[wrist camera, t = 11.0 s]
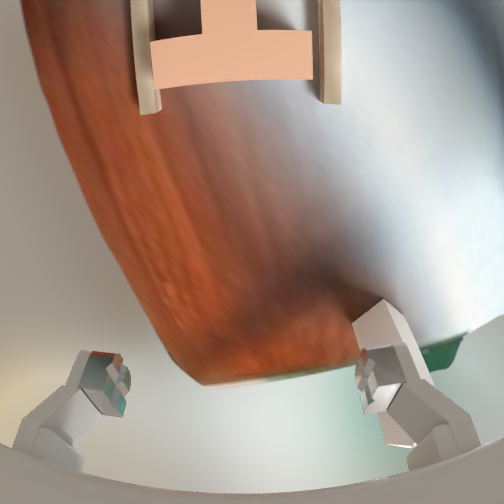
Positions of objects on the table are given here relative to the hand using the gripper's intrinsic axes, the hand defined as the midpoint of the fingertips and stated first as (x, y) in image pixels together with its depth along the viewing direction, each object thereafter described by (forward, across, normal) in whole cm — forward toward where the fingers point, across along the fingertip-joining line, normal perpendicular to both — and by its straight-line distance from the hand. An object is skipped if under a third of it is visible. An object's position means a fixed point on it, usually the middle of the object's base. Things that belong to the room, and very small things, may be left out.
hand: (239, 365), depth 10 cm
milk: (+24, -18, +24) cm, 38 cm away
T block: (+23, +1, -13) cm, 27 cm away
